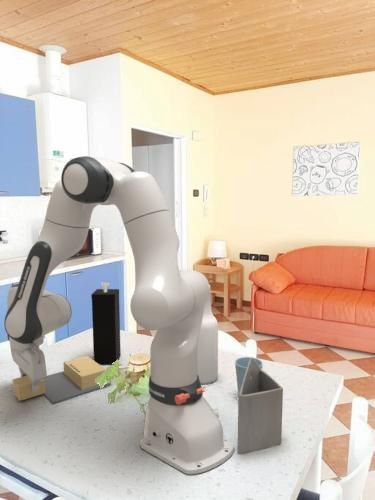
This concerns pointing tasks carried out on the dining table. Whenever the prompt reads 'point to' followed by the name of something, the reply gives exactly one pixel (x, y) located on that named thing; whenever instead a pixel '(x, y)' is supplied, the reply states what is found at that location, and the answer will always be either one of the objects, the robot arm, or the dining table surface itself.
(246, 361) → the cup
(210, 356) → the alcohol
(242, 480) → the dining table surface
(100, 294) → the black square bottle
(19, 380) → the small cardboard box
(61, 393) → the tan block on base
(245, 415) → the planter
